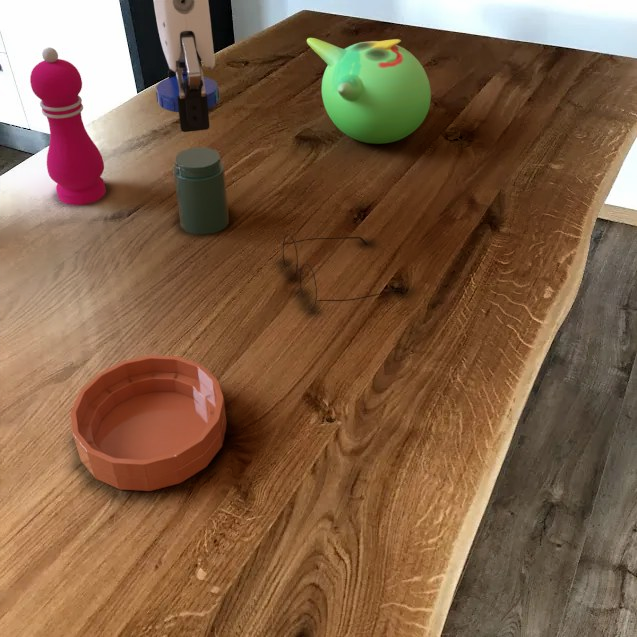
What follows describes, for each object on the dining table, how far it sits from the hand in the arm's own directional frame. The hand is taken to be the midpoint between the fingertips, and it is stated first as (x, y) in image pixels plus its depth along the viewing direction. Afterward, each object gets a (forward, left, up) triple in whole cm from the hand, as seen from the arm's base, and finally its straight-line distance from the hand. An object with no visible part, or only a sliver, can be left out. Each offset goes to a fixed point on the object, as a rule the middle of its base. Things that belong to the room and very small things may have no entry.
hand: (190, 114), depth 85 cm
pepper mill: (-18, +6, -15) cm, 24 cm away
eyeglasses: (+18, -11, -15) cm, 26 cm away
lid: (0, 0, +3) cm, 3 cm away
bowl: (+2, -36, -15) cm, 39 cm away
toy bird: (+21, +27, -15) cm, 38 cm away
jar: (0, 0, -15) cm, 15 cm away
